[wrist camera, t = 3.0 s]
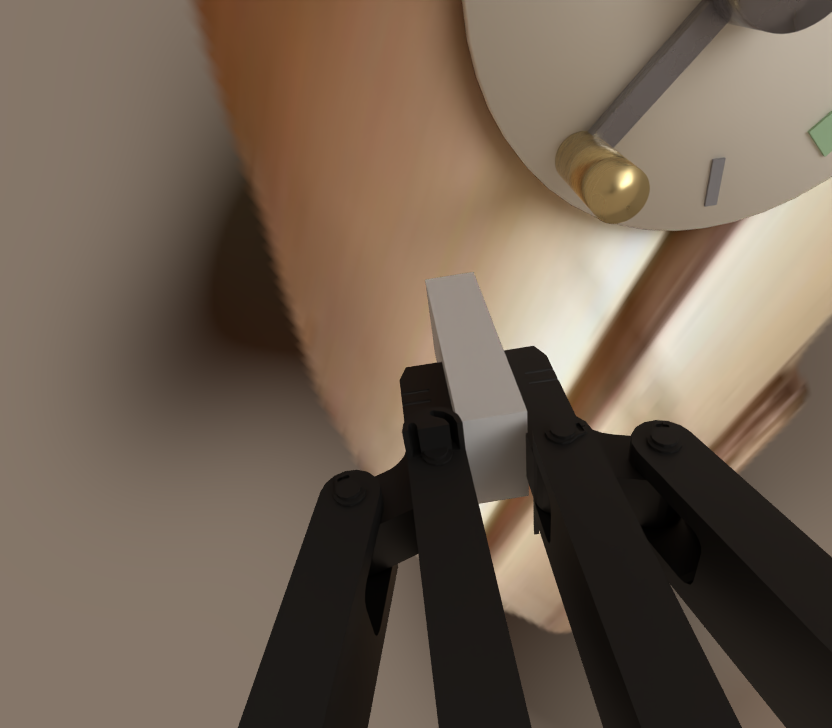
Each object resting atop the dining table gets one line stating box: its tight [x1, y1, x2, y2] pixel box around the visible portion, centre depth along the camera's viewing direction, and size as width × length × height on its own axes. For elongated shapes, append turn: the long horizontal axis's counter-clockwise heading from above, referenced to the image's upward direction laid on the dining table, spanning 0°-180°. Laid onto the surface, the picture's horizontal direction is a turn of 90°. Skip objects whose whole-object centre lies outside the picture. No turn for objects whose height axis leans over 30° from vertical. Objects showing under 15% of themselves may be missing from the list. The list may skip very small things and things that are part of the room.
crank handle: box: [555, 0, 832, 224], centre depth 23 cm, size 14×5×5 cm, turn 142°
